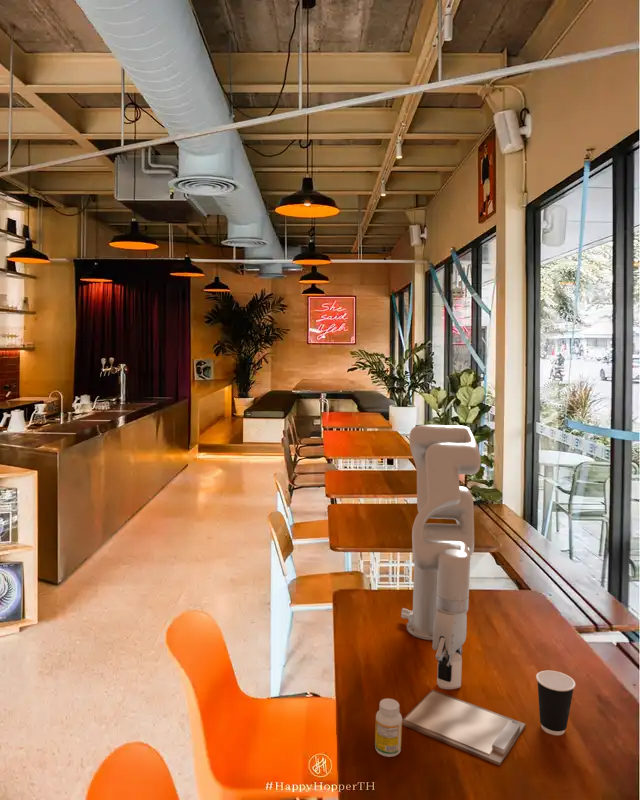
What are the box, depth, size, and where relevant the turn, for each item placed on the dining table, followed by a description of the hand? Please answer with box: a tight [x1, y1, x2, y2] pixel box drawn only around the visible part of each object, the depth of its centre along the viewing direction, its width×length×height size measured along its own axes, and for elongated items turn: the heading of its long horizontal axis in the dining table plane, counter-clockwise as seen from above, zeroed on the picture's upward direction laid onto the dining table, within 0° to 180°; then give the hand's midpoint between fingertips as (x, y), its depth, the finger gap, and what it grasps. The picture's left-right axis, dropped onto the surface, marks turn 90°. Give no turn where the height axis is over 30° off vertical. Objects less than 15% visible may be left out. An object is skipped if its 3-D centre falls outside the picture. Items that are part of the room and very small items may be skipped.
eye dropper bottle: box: [436, 649, 463, 690], centre depth 148 cm, size 4×6×12 cm
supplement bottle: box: [374, 698, 403, 758], centre depth 124 cm, size 5×5×10 cm
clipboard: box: [402, 689, 526, 767], centre depth 133 cm, size 22×16×2 cm
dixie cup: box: [535, 669, 576, 736], centre depth 132 cm, size 8×8×11 cm
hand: (449, 674), depth 149 cm, fingers closed on eye dropper bottle, 4 cm apart
